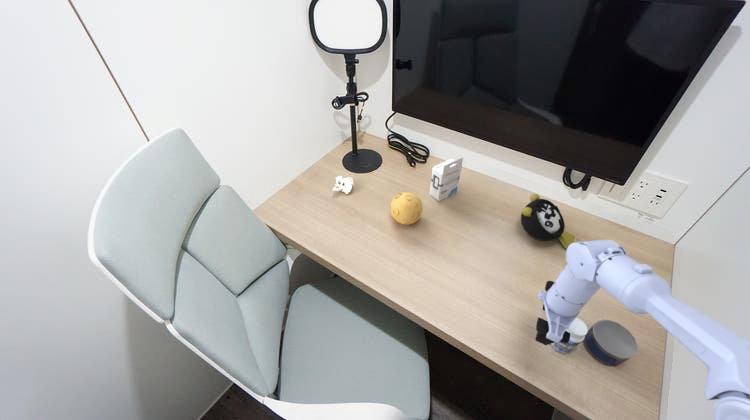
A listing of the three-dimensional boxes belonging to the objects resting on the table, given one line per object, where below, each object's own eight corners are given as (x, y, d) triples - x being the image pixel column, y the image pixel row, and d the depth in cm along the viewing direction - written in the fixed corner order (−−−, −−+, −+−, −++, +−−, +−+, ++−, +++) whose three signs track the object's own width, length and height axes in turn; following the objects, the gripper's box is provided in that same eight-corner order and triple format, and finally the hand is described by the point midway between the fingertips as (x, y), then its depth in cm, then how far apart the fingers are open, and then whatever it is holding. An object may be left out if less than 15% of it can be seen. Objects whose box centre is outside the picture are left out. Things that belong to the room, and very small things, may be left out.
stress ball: (394, 206, 104) (394, 183, 97) (423, 211, 102) (426, 188, 95) (386, 227, 97) (387, 204, 90) (418, 233, 95) (421, 210, 88)
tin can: (633, 359, 68) (647, 349, 64) (604, 372, 66) (616, 364, 63) (602, 324, 74) (613, 314, 70) (574, 336, 72) (584, 326, 68)
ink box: (446, 185, 111) (453, 149, 101) (456, 192, 108) (464, 157, 98) (428, 194, 108) (433, 158, 98) (438, 202, 105) (444, 166, 95)
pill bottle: (552, 352, 69) (568, 335, 63) (547, 331, 73) (562, 313, 67) (575, 355, 69) (593, 339, 63) (569, 334, 72) (585, 317, 66)
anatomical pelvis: (335, 172, 112) (353, 171, 111) (337, 181, 114) (355, 180, 114) (331, 186, 106) (350, 185, 105) (333, 196, 109) (352, 195, 108)
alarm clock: (541, 263, 91) (535, 234, 81) (516, 228, 101) (509, 198, 92) (582, 247, 88) (581, 215, 79) (553, 212, 99) (549, 180, 89)
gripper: (554, 252, 61) (531, 290, 71) (540, 312, 53) (516, 346, 62) (594, 267, 59) (565, 304, 68) (587, 333, 50) (554, 365, 59)
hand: (544, 325), depth 65 cm, fingers open, 7 cm apart
